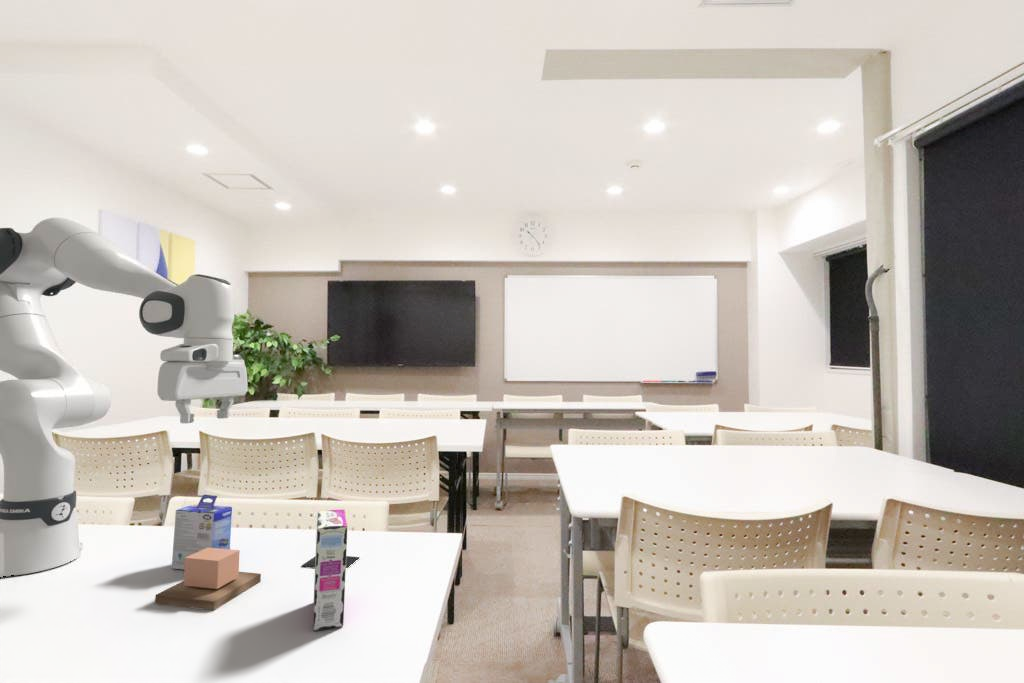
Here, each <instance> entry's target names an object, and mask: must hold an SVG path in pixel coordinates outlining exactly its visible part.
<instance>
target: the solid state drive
mask: <svg viewBox="0 0 1024 683" xmlns="http://www.w3.org/2000/svg"><path fill="white" fill-rule="evenodd" d="M315 558H316V555H315V556H314V557H312V558H310V559H309V560H307V561H306V562H304V563H303V564H302V565H301V567H302V568H306V567H315ZM359 558H360V557H359V556H350V555H346V568H348V567H349V566H350V565H351V564H353V563H354V562H355V561H356V560H358V559H359ZM360 559H361V558H360ZM360 559H359V560H360ZM359 560H358V561H359ZM355 563H356V562H355ZM355 563H354V564H355ZM354 564H353V565H354ZM350 567H351V566H350ZM350 567H349V568H350ZM349 568H348V569H349Z"/></svg>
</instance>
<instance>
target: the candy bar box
mask: <svg viewBox="0 0 1024 683" xmlns="http://www.w3.org/2000/svg"><path fill="white" fill-rule="evenodd" d="M316 520H317V522H316V535H315V536H316V537H315V538H316V540H315V556H316V558H315V568H314V586H313V588H314V589H313V592H314V593H313V612H312V613H313V618H312V619H313V620H312V621H313V622H312V631H313V632H315V631H317V632H318V631H323V630H331V629H337V628H342V627H344V620H345V619H344V618H345V616H344V615H345V596H346V574H347V573H346V572H347V570H346V556H347V549H348V547H347V545H348V523H347V516H346V510H345V509H331V510H319V511H317V519H316Z"/></svg>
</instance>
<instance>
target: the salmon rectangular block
mask: <svg viewBox="0 0 1024 683" xmlns="http://www.w3.org/2000/svg"><path fill="white" fill-rule="evenodd" d="M183 572H184V573H183V574H184V576H183V581H184V585H185V586H194V587H203V588H213V589H218V588H220V587H222V586H223V585H225V584H227V583H229V582H230V581H232V580H234V579H236V578H237V577H238V576H239V572H240V550H239V549H231V548H230V549H219V548H205V549H203V550H201V551H199V552H197V553H194V554H192V555H190V556H188V557H186V558H185V570H184V571H183Z"/></svg>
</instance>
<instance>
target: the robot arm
mask: <svg viewBox="0 0 1024 683" xmlns="http://www.w3.org/2000/svg"><path fill="white" fill-rule="evenodd" d="M76 283H77V284H80V285H81V286H86V287H88V288H91V289H94V290H99V291H103V292H104V291H105V292H109V293H115V294H122V295H127V296H132V297H136V298H140V299H143V300H142V302H141V304H140V306H139V311H138V313H139V315H138V316H139V320H140V323H141V325H142V327H143V328H144V329H145V331H147V332H148V333H150V334H151V335H156V336H158V337H159V336H160V337H163V338H165V337H166V338H174V339H175V338H176V339H177V338H178V339H183V343H180V344H177V345H175V346H173V347H169V348H166V349H163V350H161V351H160V355H159V356H160V360H161V361H162V364H161V365H160V367H159V371H158V376H157V392H156V393H157V396H158V397H159V399H160V400H161V401H163V402H164V401H165V402H167V401H168V402H169V401H172V402H175V404H174V405H175V407H176V409H177V411H178V413H179V415H180V416H179V417H180V418H179V419H180V420H179V421H180V424H192V423H194V422H195V419H194V417H195V413H191V411H190V406H191V404H192V403H191V402H192V400H203V399H218V398H220V402H222V403H221V405H220V408H219V409H218V410H216V418H217V419H218V420H219V419H228V418H230V409H231V408H232V407H233V404H234V402H235V397H243V396H246V394H247V392H248V389H249V388H248V385H249V384H248V371H247V367H246V364H245V360H244V359H243V357H242V356H241V355H240V354H234V335H233V330H232V329H233V324H234V322H235V311H236V310H235V294H234V289H233V288H234V287H233V286H232V284H231V283H230V282H229V281H227V280H226V279H222V278H218V277H215V276H210V275H206V274H198V273H197V274H191V275H190V276H188V278H187V279H186V280H185V281H184V282H182V283H180V284H178V283H176V282H174V281H172V280H171V279H169V278H167V277H165V276H164V275H162V274H160V273H159V272H156V271H155V270H153V269H152V268H150V267H148V266H147V265H146V264H144V263H143V262H141V261H139V260H138V259H136V258H135V257H133V256H132V255H130V254H129V253H127V252H126V251H125V250H123V249H122V248H120V247H119V246H117V245H116V244H115V243H113V242H111V241H110V240H108V239H107V238H105V237H104V236H102V235H101V234H99V233H97V232H96V231H94V230H93V229H90V228H89V227H86V226H85V225H83V224H80V223H77V222H75V221H73V220H70V219H67V218H63V217H49V218H45V219H43V220H41V221H40V222H38V223H37V224H36V225H35V226H33V228H32V230H31V231H30V232H26V233H25V232H17V231H15V230H14V228H11V227H0V371H2V372H4V373H6V374H8V375H12V377H15V378H16V379H6V380H1V381H0V456H1V460H2V464H3V498H2V499H0V577H1V578H4V577H3V576H6V577H12V576H11V575H14V576H19V575H20V576H22V575H26V574H27V575H28V574H33V573H36V572H37V573H38V572H41V571H46V570H51V569H53V568H57V567H60V566H63V565H66V564H68V563H70V561H71V562H73V561H74V559H75V560H76V559H77V558H79V557H80V556H81V552H80V551H81V550H82V549H83V548H84V544H83V542H80V535H79V534H80V532H79V521H78V520H79V518H78V514H77V512H76V511H74V509H75V508H76V507H77V501H78V496H77V491H76V490H75V477H76V476H75V475H76V457H75V455H74V453H72V452H71V451H70V450H68V449H66V448H65V447H64V448H63V447H62V446H59V445H57V443H56V442H55V440H54V436H53V430H55V429H56V430H57V429H65V428H73V427H79V426H80V427H81V426H83V425H87V424H90V423H93V422H96V421H98V420H100V419H103V417H105V416H106V415H107V413H108V412H109V410H110V408H111V404H112V396H111V393H110V390H109V388H108V387H107V386H106V385H105V384H103V383H102V382H100V381H98V380H96V379H94V378H92V377H90V376H88V375H87V374H86V373H84V372H83V371H81V369H79V368H78V367H77V366H76V365H75V364H74V363H72V361H71V360H70V359H69V358H68V357H67V356H66V354H65V353H64V352H63V351H62V349H61V348H60V346H59V345H58V342H57V339H55V335H54V333H53V331H52V330H51V327H50V325H49V322H48V319H47V318H46V315H45V313H44V311H43V308H42V305H41V297H42V296H46V297H54V296H57V295H58V294H59V293H60V292H61V291H64V290H67V289H69V288H71V287H72V286H73V285H75V284H76ZM82 547H83V548H82ZM81 548H82V549H81ZM80 549H81V550H80ZM79 555H80V556H79Z"/></svg>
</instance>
